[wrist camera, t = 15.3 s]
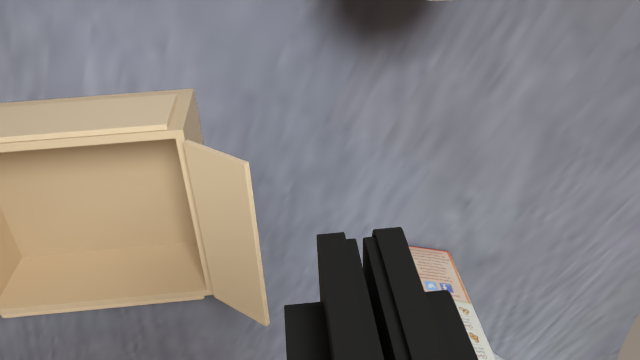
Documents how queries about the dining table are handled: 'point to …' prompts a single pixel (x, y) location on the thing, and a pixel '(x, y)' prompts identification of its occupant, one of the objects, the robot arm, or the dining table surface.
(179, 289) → the carton
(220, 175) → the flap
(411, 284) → the robot arm
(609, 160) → the dining table surface
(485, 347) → the cracker box
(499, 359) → the tea box
